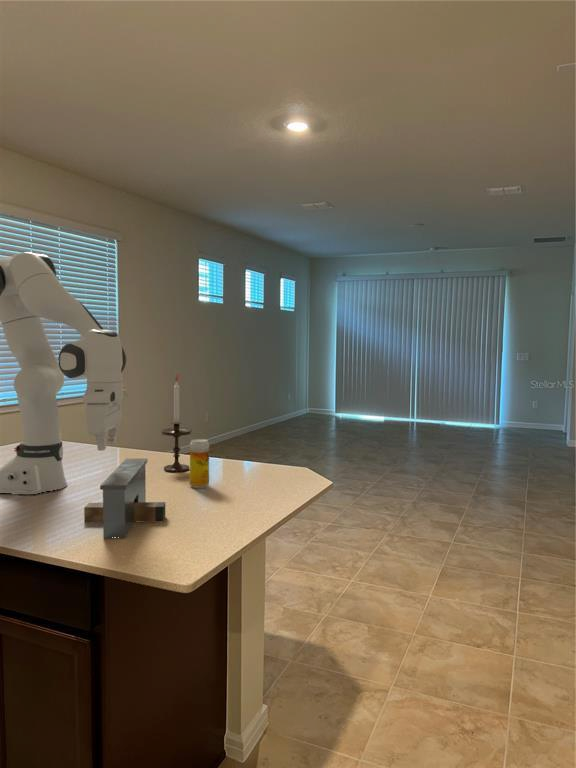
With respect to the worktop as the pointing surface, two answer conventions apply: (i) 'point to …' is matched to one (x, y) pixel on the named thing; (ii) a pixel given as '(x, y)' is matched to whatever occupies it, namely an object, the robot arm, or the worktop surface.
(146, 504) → the rod
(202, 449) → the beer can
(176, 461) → the candlestick
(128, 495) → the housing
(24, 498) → the worktop surface
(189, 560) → the worktop surface
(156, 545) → the worktop surface
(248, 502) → the worktop surface
